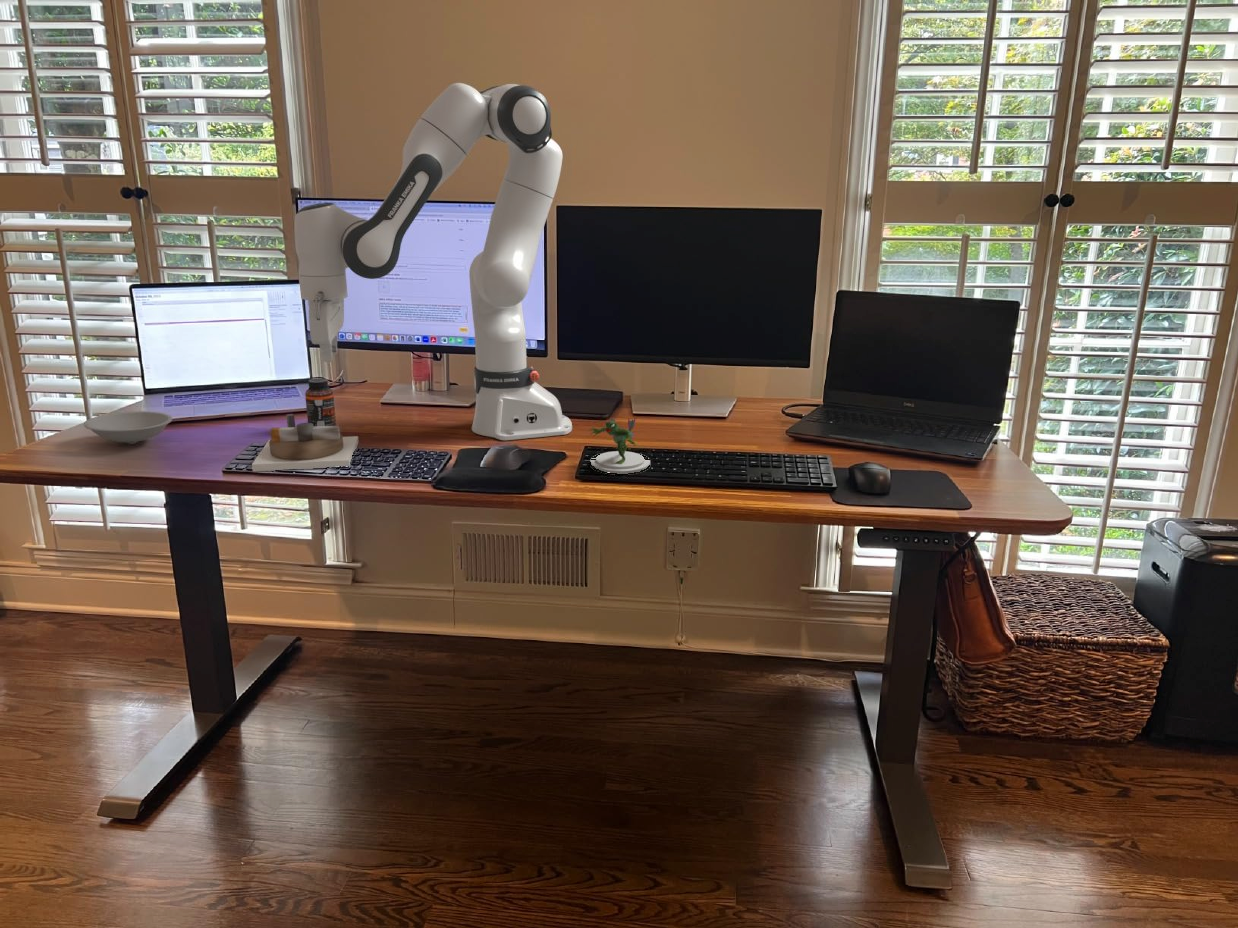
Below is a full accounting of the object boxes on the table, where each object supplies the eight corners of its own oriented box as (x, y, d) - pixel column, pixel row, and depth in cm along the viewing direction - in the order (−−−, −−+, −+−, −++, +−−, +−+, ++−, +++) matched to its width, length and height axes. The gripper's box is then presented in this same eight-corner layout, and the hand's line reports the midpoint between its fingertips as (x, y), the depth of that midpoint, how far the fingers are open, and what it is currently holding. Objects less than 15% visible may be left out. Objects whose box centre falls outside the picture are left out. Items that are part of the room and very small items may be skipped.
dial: (347, 437, 186) (345, 414, 184) (338, 458, 173) (336, 433, 171) (278, 439, 184) (275, 416, 182) (263, 461, 171) (260, 436, 169)
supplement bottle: (328, 434, 194) (323, 383, 190) (303, 432, 195) (297, 382, 191) (341, 426, 199) (336, 377, 196) (317, 424, 200) (312, 376, 197)
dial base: (358, 443, 188) (355, 411, 185) (349, 467, 173) (346, 433, 171) (269, 446, 185) (265, 414, 183) (252, 471, 170) (248, 437, 168)
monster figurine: (577, 465, 175) (577, 415, 172) (617, 451, 184) (617, 404, 181) (623, 479, 168) (624, 427, 165) (662, 464, 177) (663, 415, 173)
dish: (191, 436, 192) (188, 413, 190) (145, 456, 178) (141, 433, 177) (120, 430, 195) (116, 409, 193) (70, 450, 181) (65, 427, 180)
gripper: (333, 296, 164) (340, 369, 169) (346, 282, 183) (352, 347, 188) (297, 296, 163) (305, 370, 168) (315, 282, 182) (321, 348, 187)
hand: (330, 358), depth 178 cm, fingers open, 5 cm apart
